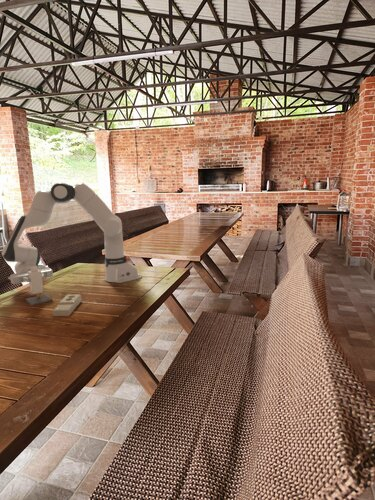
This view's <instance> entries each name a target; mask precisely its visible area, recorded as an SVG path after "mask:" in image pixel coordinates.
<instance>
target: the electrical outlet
mask: <svg viewBox="0 0 375 500" xmlns="http://www.w3.org/2000/svg"><path fill="white" fill-rule="evenodd" d="M82 301H83V300H82V294H81V293H80V294H76V293H75V294H74V293H73V294H69V293H68V294H66V295H65V296H64V297H63V298H62V299H61V300H60V301H59V302H58V304H57V305H56V307H55V308H53V309H52V317H69V316H71V314H72V313H73V312H74V311H75V309H76V308H77V307H78V306H79V305H80V303H82Z"/></svg>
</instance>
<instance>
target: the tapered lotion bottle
mask: <svg viewBox="0 0 375 500" xmlns="http://www.w3.org/2000/svg"><path fill="white" fill-rule="evenodd" d="M30 269H31V271H28V277H29V278H30V280H31V282H28V284H29V289H30V293H31V294H33V295H36V293H40V294H41V293H44V284H43V279H42V275H41V271H40V270H39V269H38V268H37V267H31V268H30Z"/></svg>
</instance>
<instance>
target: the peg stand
mask: <svg viewBox="0 0 375 500" xmlns="http://www.w3.org/2000/svg"><path fill="white" fill-rule="evenodd" d="M51 301H53V299H52V298H51V297H50V296H49V295H48V294H47V293H43V294H41V293H36V294H35V296H32V297H27V298H25V302H27V303H28V304H29V305H30V307H31V306H36V305H40V304H43V303H47V302H51Z"/></svg>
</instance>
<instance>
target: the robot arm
mask: <svg viewBox="0 0 375 500" xmlns="http://www.w3.org/2000/svg"><path fill="white" fill-rule="evenodd" d="M72 200H74V201H76V203H77V204H79V206H81V208H82V209H83V210H84V211H85V212H86V213H87V214H88V215H89V216H90V217H91V218H92V220H93V221H94V222H95V223H96V224H97V226H98V227H99V228H100V230H102V232H103V237H104V238H103V239H104V240H103V242H104V243H103V244H104V254H105V257H104V265H105V275H104V281H105V282H107V283H108V282H109V283H115V284H122V283H127V282H130V281H131V282H132V281H134V280H139V279H140V280H141V278H143V277H142V274H141V273H140V272H138V269H137V267H136V265H134V264H133V263H132V262H129V261H130V257H128V256H127V255H125V254H124V253H125V252H124V235H123V222H122V220H121V218H120V217H119V216H117V214H114V213H113V212H112V210H111V209H110V207H108V206H107V204H106V203H105V202H104V201H103V200H102V199H101V198H100V196H99V195H98V194H97V193H96V192H95V191H94V190H93V189H92V188H91V187H89V186H88V185H87V184H85V183H84V182H79V183H76V184H74V185H70V184H68V183H66V182H56V183H54V184H53V185H52V186H51V189H50V190H49V191H48V190H41V189H40V190H37V191H36V193H35V194H34V196H33V199H32V201H31V204H30V206H29V207H30V208H29V210H28V212H26V214H24V215H21V216H20V217H19V219H18V220H17V222H16V224H15V226H14V228H13V230H12V232H11V235H9V238H8V240H7V242H6V243H5V245H4V247H3V248H2V252H1V256H2V258H3V259H4V260H5V261H6V262H12V263H14V262H15V263H16V264H15V265H14V272H15V273H12V274H10V276H8V277H7V279H8V280H10V283H11V284H12V285H16V284H21V283H26V282H27V283H29V282H31V280H30V278H29V277H28V271H31V269H30V268H31V267H37V268H38V269H39V270H40V271H41V275H42V280H44V279H46V278H51V277H53V276H54V272H53V269H52V268H50V267H48V266H46V265H45V264H40V261H41V257H42V256H41V252H40V250H39V248H38V247H35V246H29V245H25V244H24V245H23V244H18V242H19V240H20V239H21V236H22V235H23V232H24V231H25V230H26V229H29V228H35V227H40V226H41V227H42V226H45V225H46V224H47V223H49V221H50V219H51V215H52V212H53V208H54V206H55V205H56V204H67V203H69V202H70V201H72Z"/></svg>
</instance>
